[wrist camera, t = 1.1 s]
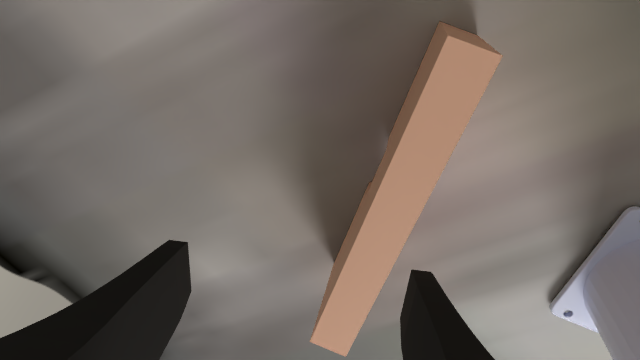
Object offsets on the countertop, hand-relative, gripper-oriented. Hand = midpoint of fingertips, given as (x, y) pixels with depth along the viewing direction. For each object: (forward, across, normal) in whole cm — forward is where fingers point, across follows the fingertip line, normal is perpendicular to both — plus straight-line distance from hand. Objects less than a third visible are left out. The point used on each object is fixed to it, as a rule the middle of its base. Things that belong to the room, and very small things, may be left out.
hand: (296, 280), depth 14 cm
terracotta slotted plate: (+12, -4, +1) cm, 13 cm away
